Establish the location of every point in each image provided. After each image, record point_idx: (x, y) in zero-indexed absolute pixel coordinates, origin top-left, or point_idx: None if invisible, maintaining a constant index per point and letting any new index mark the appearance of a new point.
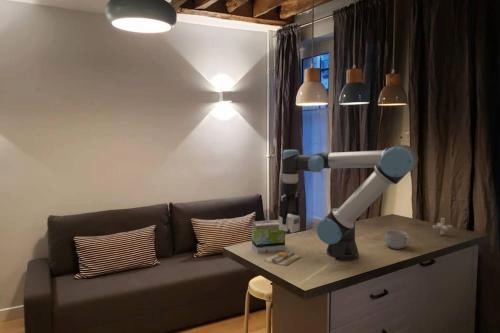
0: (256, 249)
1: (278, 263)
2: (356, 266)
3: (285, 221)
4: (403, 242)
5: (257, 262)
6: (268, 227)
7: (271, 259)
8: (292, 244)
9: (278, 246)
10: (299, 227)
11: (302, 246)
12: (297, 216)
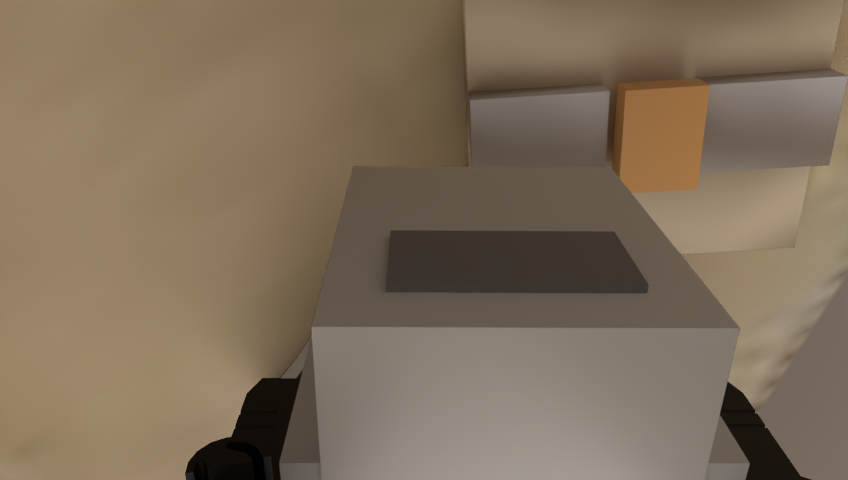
0: None
1: (830, 62)
2: None
3: (730, 427)
4: None
5: (790, 287)
6: None
7: (750, 195)
8: (111, 330)
9: None
10: (355, 185)
11: (77, 215)
12: (422, 348)
